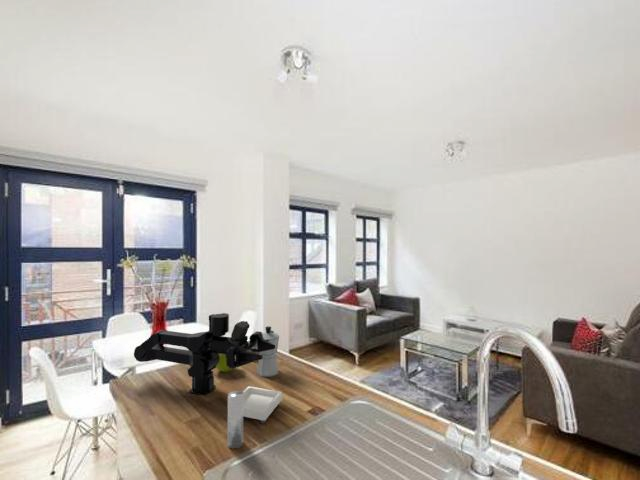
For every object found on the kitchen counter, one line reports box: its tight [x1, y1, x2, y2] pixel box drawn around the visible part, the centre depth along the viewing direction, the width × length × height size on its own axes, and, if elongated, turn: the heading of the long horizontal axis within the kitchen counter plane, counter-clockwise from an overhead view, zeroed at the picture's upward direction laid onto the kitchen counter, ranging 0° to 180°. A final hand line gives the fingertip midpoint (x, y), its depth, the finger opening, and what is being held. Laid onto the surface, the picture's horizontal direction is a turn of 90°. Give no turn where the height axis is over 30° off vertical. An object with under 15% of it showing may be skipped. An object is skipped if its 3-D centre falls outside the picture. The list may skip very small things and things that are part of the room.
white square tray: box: [242, 385, 283, 424], centre depth 97 cm, size 12×12×4 cm
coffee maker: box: [256, 326, 280, 378], centre depth 125 cm, size 15×9×18 cm, turn 179°
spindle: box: [226, 390, 244, 450], centre depth 82 cm, size 4×4×13 cm
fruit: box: [215, 354, 233, 373], centre depth 125 cm, size 9×9×10 cm
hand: (269, 351), depth 102 cm, fingers open, 9 cm apart
